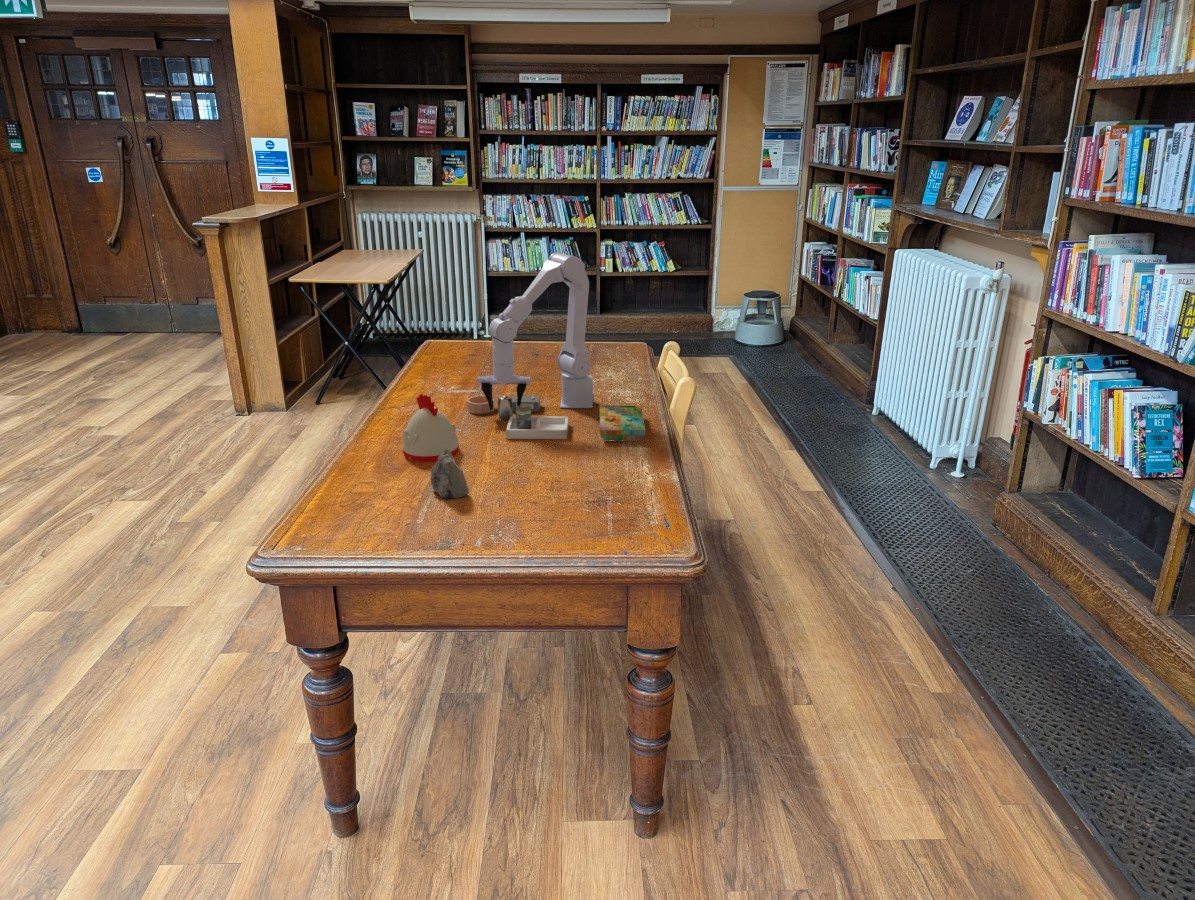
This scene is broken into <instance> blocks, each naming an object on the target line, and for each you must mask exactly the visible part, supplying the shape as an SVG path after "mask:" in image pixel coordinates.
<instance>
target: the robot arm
mask: <svg viewBox="0 0 1195 900" xmlns="http://www.w3.org/2000/svg"><path fill="white" fill-rule="evenodd" d="M562 282H564V283H565V284H566V286H568V288H569V292H568V293H569V294H568V302H567V303H568V305H567V317H566V318H567V319H566V320H567V321H566V333H565V341H564V343H563V344H561V347H560V353H559V354H558V357H557V359H556V360H557V361H556V362H557V363H556V364H557V367H558V368H559V369H560V372H561V373H560V374H561V398H560V399H561V400H560V406H559V408H560V409H593V407H594V406H593V405H594V404H593V403H594V401H595V394H594V377H593V376H594V375H589V373H590V371H591V367H592V363H591V361H590V351H589V350H588V348H587V346H586V344H585V342H586V341H585V339H586V331H587V329H586V327H587V315H588V304H589V294H590V293H589V291H590V281H589V277H588V274H587V272H586V263H584V262H583V261H582V259H580V258H579V257H577V256H574V255H568V254H565V253H562V252H558V251H557V252H554V253H552V254H550V256H549V257H548V259H547V260H546V261H545V262H543V266H542V268H541V270H540V271H539V273H538V274H537V275H536V276H535V278H534V280H532V282H531V283H530V285H529V287H527V289H526V290H525V291H524V292H523V294H522V295H520V296H515V297H514V298H511V299H510V300H509V304H508V306H507V307H506V308H505V309H504V310H503V311H502V312H501V313H499V315H498V317H496V318H494V319H493V320H492V321H491V322H490V324H489V326H488V328H487V333H488V334H489V336H490V337H491V342H492V343H491V344H492V345H491V347H492V368H493V369H492V370H493V375H483V376H479V375H478V376H477V386H481V391H482V392H483V394H484V396H486V398H487V401H488V404H489V407H490V410H492V409H493V398H494V397H493V385H516V396H517V406H519V405H521V400H522V396H524V393H525V391H526V388H527V386H531V382H532V381H531V376H525V375H524V376H523V375H522V376H521V375H515V358H514V357H515V356H514V339H516V337H517V334H518V330H519V328H520V326H521V324H522V323H523V322H524V321H525V320H526V319H527V318H528V317H529V315H530V313H532V311H533V304H534V302H535V301H536V300H537V299H538V298H539V297H540V296H541V295H542V294H543V293H544V292H545V291H546V290H547V288H549V286H550V285H552V284H555V283H562Z"/></svg>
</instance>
